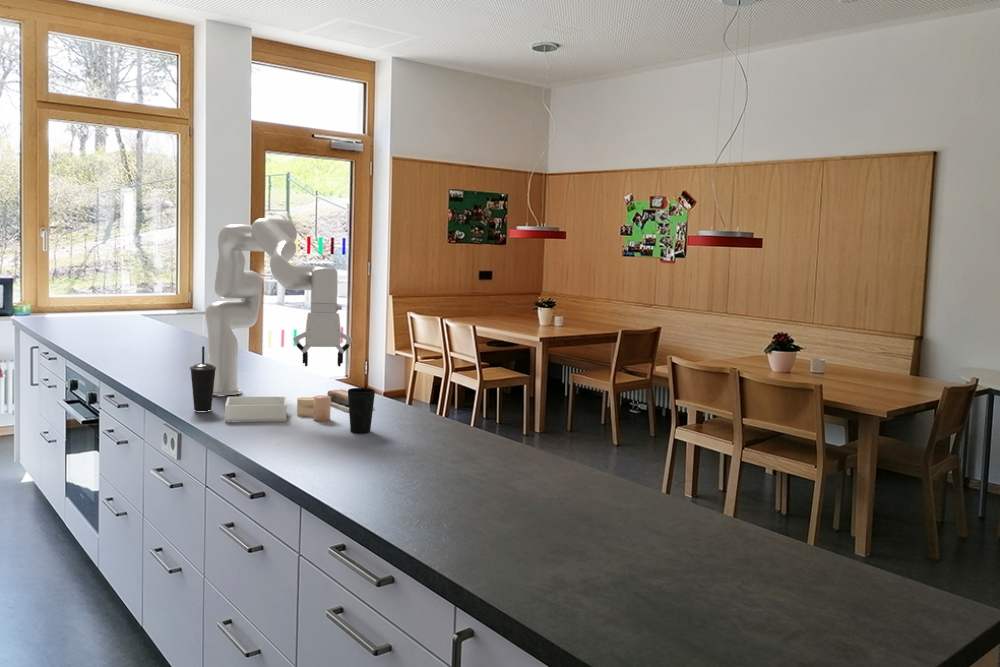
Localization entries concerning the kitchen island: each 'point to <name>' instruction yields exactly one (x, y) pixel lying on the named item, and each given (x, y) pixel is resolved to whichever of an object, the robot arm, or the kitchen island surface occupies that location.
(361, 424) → the cup
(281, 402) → the tote
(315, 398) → the cylinder
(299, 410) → the cube
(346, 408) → the packaged product
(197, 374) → the drinking cup
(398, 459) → the kitchen island surface
